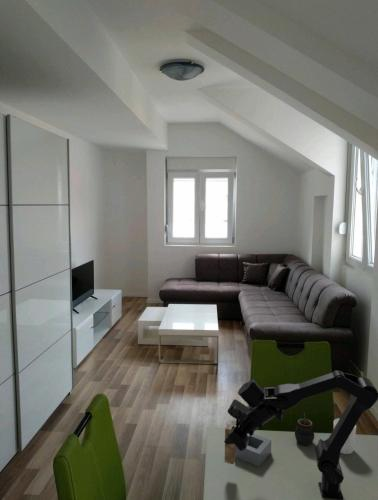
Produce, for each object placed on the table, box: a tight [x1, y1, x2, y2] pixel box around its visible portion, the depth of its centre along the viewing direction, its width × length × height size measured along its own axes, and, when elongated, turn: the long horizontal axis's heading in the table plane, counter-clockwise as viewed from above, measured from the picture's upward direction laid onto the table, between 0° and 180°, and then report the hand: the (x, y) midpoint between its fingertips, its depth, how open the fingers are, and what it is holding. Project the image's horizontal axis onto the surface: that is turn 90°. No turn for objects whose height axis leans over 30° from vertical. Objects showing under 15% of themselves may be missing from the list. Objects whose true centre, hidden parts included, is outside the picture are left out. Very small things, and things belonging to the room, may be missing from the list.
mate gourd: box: [294, 411, 315, 446], centre depth 153 cm, size 7×8×10 cm
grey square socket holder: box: [236, 433, 272, 468], centre depth 145 cm, size 10×10×5 cm
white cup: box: [333, 417, 357, 455], centre depth 149 cm, size 8×8×10 cm
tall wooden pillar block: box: [224, 423, 237, 465], centre depth 133 cm, size 3×3×12 cm
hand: (226, 440), depth 134 cm, fingers closed on tall wooden pillar block, 3 cm apart
